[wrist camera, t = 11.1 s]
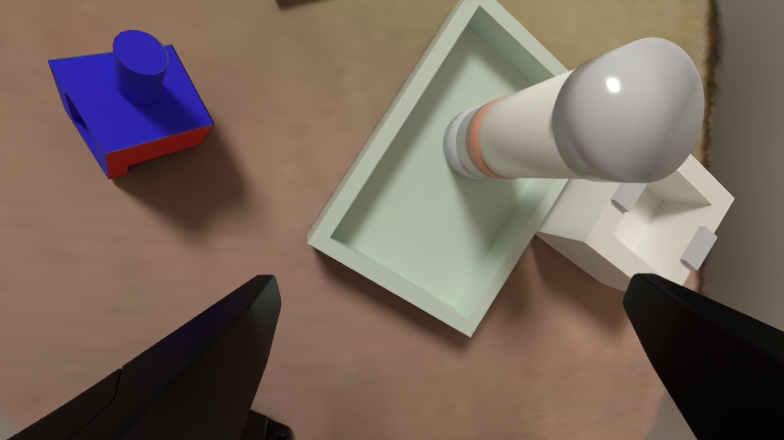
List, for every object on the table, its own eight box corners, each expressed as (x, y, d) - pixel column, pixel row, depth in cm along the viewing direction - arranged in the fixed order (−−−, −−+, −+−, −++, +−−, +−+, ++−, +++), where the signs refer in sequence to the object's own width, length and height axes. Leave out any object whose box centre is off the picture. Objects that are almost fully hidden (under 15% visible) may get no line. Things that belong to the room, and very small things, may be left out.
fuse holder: (600, 283, 26) (674, 309, 21) (527, 228, 23) (588, 242, 18) (655, 194, 26) (740, 198, 21) (587, 132, 24) (664, 120, 19)
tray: (449, 317, 23) (470, 337, 20) (307, 233, 20) (307, 243, 17) (572, 119, 23) (610, 111, 20) (451, 9, 20) (476, -19, 17)
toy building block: (194, 152, 19) (229, 101, 13) (107, 179, 17) (101, 132, 11) (160, 91, 19) (181, 6, 12) (64, 110, 16) (30, 15, 10)
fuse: (496, 185, 21) (682, 195, 11) (436, 170, 20) (576, 165, 10) (512, 119, 21) (719, 62, 10) (451, 100, 20) (614, 16, 9)
